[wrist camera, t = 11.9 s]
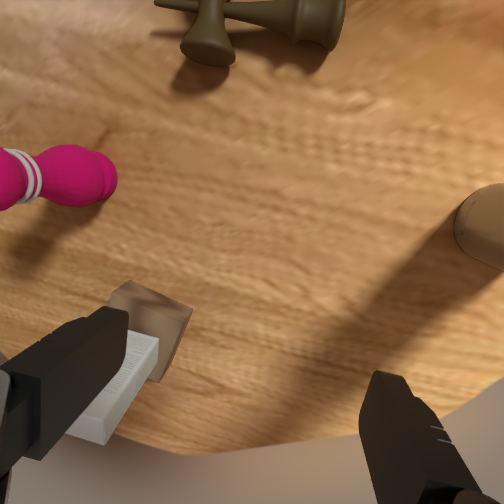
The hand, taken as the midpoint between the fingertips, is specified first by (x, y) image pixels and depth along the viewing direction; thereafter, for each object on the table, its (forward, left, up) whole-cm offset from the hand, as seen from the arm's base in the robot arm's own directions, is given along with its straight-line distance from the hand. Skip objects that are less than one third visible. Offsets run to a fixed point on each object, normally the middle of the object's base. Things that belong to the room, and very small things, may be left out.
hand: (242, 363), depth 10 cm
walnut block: (+15, +19, -32) cm, 40 cm away
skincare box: (+15, +19, -26) cm, 36 cm away
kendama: (+8, -21, -32) cm, 39 cm away
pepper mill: (+25, -1, -31) cm, 40 cm away
